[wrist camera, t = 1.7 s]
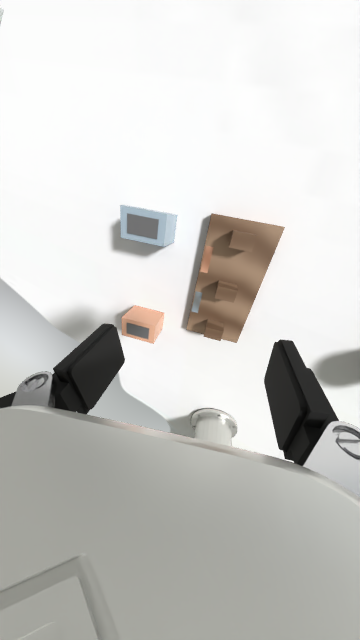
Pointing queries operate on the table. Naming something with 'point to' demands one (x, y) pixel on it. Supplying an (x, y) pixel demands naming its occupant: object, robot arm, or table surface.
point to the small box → (1, 13)
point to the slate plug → (147, 225)
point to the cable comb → (231, 275)
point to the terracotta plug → (142, 324)
